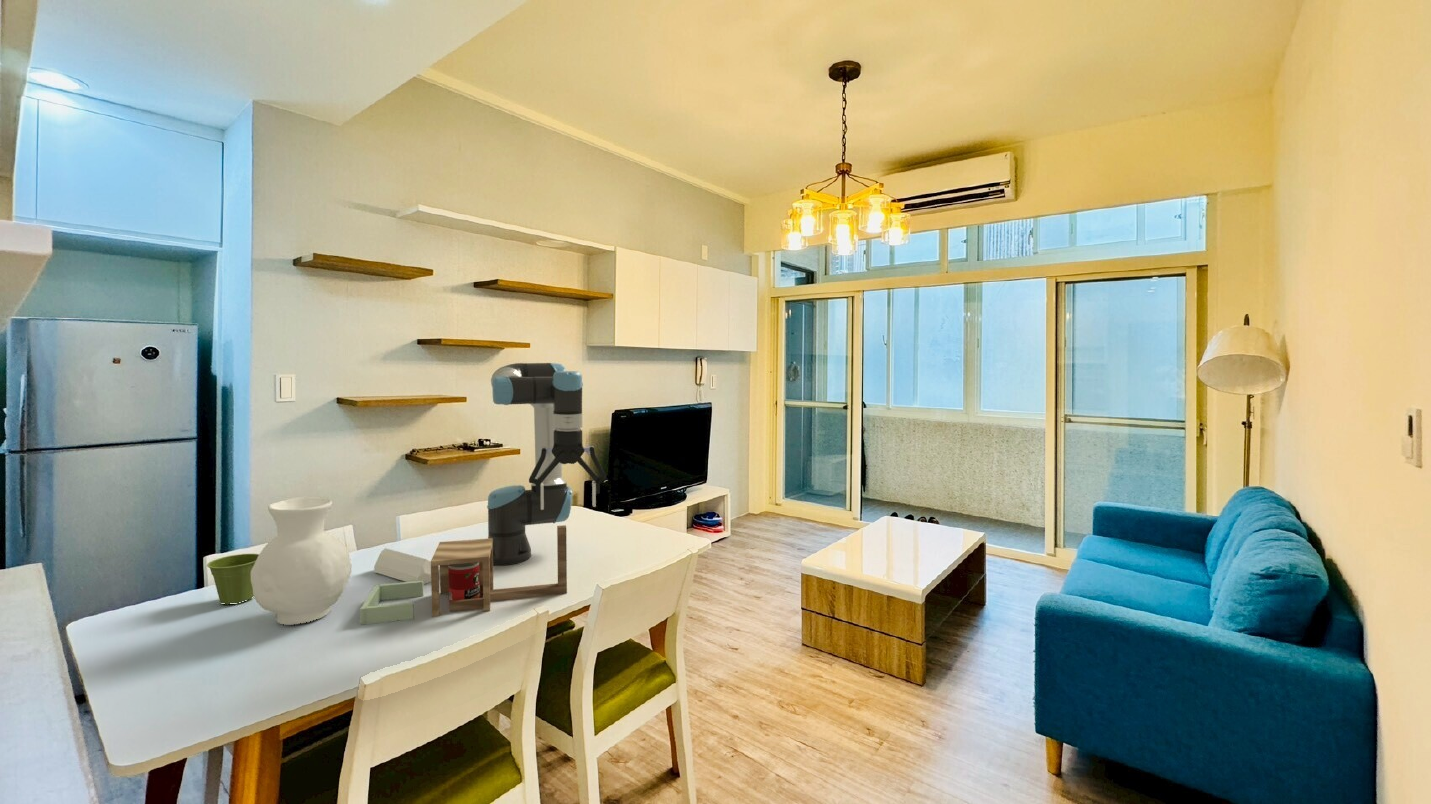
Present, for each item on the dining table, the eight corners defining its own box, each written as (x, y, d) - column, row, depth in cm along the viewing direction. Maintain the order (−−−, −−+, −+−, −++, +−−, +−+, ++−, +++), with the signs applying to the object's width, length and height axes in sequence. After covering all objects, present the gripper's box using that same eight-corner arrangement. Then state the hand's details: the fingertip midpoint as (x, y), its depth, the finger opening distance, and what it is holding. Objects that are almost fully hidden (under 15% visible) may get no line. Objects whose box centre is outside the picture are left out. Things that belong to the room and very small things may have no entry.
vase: (310, 638, 144) (304, 514, 142) (234, 630, 148) (227, 509, 145) (368, 606, 162) (364, 496, 160) (299, 599, 166) (294, 491, 164)
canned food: (469, 608, 162) (468, 568, 161) (442, 605, 163) (441, 566, 162) (485, 597, 169) (485, 559, 168) (460, 594, 171) (459, 556, 170)
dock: (376, 598, 167) (376, 584, 167) (423, 594, 171) (423, 580, 170) (360, 624, 152) (360, 609, 151) (412, 619, 155) (412, 603, 155)
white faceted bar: (363, 562, 185) (413, 577, 174) (382, 545, 190) (432, 558, 179) (376, 578, 189) (426, 594, 177) (394, 561, 194) (444, 575, 183)
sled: (455, 594, 171) (453, 528, 170) (565, 583, 180) (564, 520, 178) (450, 611, 160) (448, 541, 158) (567, 599, 169) (567, 532, 167)
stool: (441, 592, 172) (439, 542, 171) (493, 587, 176) (492, 538, 175) (432, 617, 156) (430, 561, 155) (490, 610, 161) (488, 556, 159)
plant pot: (274, 596, 168) (272, 556, 167) (224, 613, 157) (222, 570, 156) (249, 589, 173) (247, 550, 172) (199, 604, 162) (197, 563, 161)
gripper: (518, 432, 155) (519, 513, 157) (616, 430, 162) (616, 508, 164) (519, 428, 162) (520, 505, 164) (613, 426, 169) (613, 500, 171)
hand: (568, 507), depth 164 cm, fingers open, 13 cm apart
